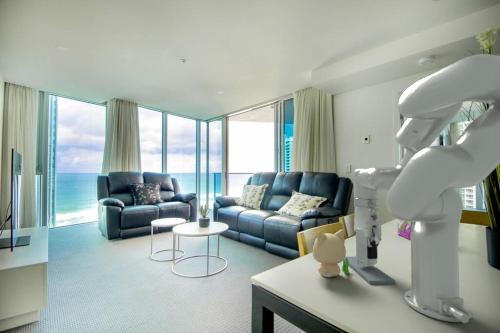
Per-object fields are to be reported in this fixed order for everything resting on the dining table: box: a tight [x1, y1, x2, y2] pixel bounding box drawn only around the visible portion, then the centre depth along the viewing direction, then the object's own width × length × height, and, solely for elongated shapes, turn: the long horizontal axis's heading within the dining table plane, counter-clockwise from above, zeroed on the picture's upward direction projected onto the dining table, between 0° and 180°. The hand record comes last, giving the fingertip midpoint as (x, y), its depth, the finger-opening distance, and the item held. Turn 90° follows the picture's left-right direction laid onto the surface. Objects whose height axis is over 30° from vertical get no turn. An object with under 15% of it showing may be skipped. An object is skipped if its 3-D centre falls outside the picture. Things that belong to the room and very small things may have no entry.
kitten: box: [312, 228, 350, 278], centre depth 76 cm, size 15×10×15 cm, turn 109°
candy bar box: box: [397, 219, 414, 241], centre depth 119 cm, size 11×5×16 cm, turn 179°
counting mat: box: [342, 255, 396, 285], centre depth 80 cm, size 20×8×1 cm, turn 2°
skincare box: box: [355, 228, 378, 267], centre depth 80 cm, size 6×4×12 cm
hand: (366, 254), depth 80 cm, fingers closed on skincare box, 6 cm apart
